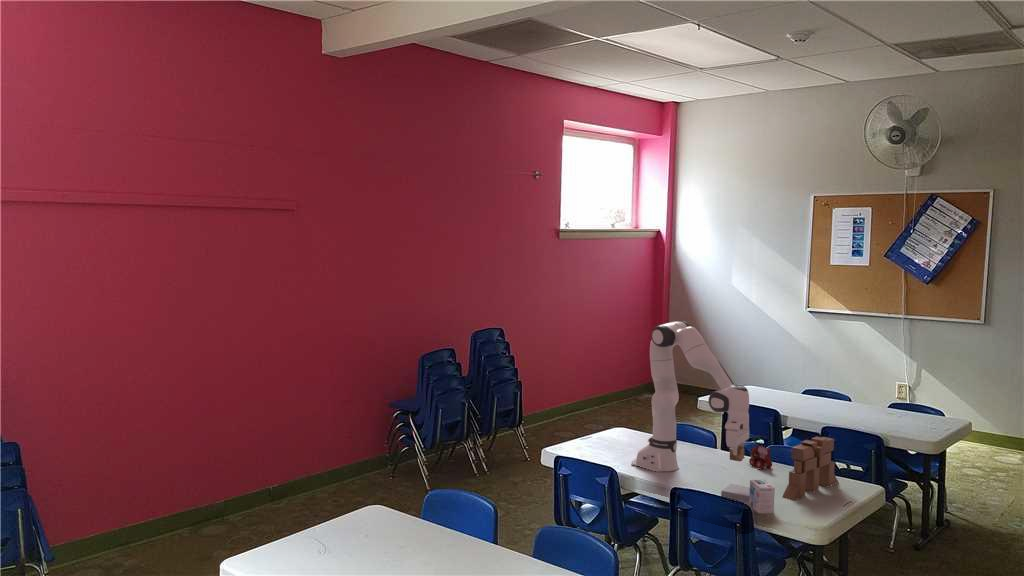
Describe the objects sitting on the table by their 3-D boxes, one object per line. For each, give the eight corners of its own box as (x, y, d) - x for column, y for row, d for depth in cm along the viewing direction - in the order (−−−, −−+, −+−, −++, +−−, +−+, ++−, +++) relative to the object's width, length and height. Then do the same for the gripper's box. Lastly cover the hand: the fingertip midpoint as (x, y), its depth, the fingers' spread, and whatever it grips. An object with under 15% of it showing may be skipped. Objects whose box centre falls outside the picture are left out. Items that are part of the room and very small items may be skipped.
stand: (721, 496, 340) (721, 490, 339) (731, 489, 349) (731, 483, 349) (748, 502, 333) (748, 496, 333) (757, 494, 342) (758, 489, 342)
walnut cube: (729, 459, 347) (729, 448, 346) (733, 456, 351) (733, 445, 350) (741, 461, 344) (741, 450, 343) (744, 457, 348) (744, 446, 347)
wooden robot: (823, 479, 367) (825, 431, 365) (841, 483, 361) (843, 434, 359) (779, 497, 340) (781, 445, 339) (798, 502, 334) (800, 449, 332)
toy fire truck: (757, 462, 392) (758, 442, 391) (774, 469, 380) (775, 448, 380) (746, 463, 389) (746, 443, 389) (762, 471, 378) (763, 449, 377)
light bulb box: (748, 504, 330) (749, 479, 329) (764, 504, 330) (764, 479, 329) (758, 513, 319) (759, 487, 318) (774, 513, 320) (775, 487, 319)
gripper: (739, 417, 356) (738, 447, 357) (723, 425, 339) (723, 457, 340) (753, 418, 352) (752, 449, 353) (737, 427, 336) (737, 459, 337)
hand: (737, 453), depth 347 cm, fingers closed on walnut cube, 5 cm apart
